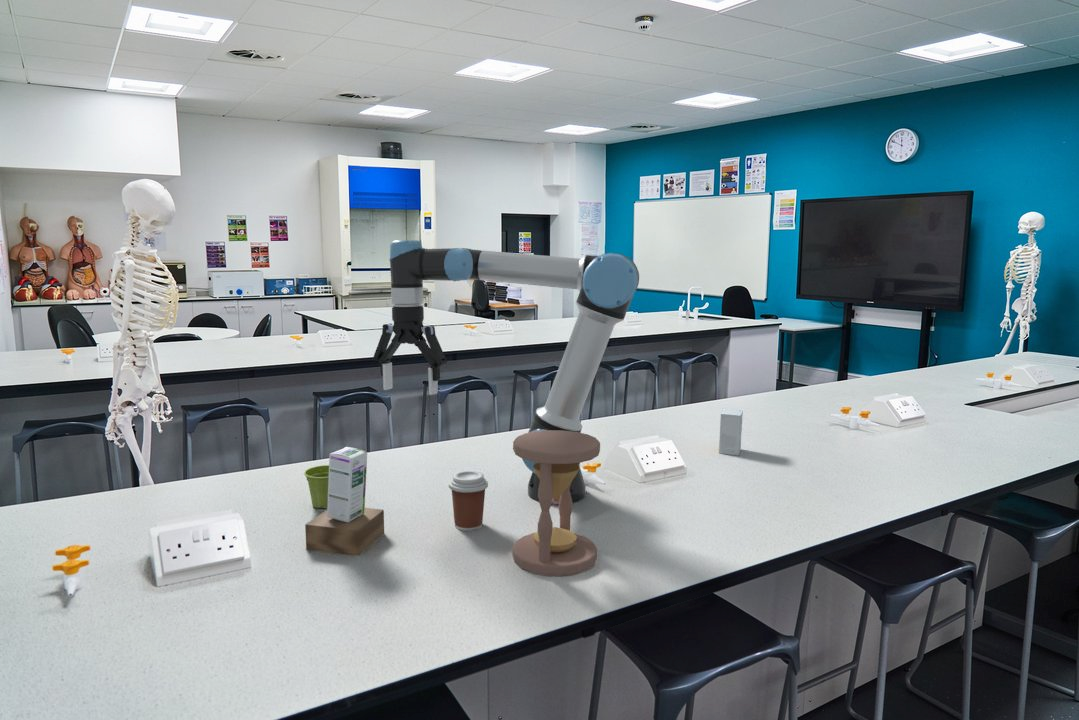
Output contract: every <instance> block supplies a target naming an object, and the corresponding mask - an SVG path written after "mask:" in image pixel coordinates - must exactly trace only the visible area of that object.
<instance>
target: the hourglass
mask: <svg viewBox="0 0 1079 720" xmlns="http://www.w3.org/2000/svg"><path fill="white" fill-rule="evenodd" d="M512 450H513V452H514V454H515V456H517V457H519V458H521V459H525V460H529V461H532V462H537V463H535V464H534V465H533V467H534V470H535V472H536V474H537V476H538V477H539V479H540V483H539V488H538V499H539V501H538V503H539V506H540V510H541V511H540V515H539V517H538V522H537V531H536V532H532V533H529V534H526V535H524V536H521V538H519V539H517V540H516V541H515V543H514V544H513V547H512V552H511V553H512V558H513V560H514V564H516V565H517V566H519V568H521V570H524V571H527V572H529V573H531V574H535V575H540V576H541V575H542V576H546V577H568V576H573V575H578V574H581V573H583V572H586V571H588V570H590V569H591V568H592V567H593V566H594V565H595V564H596V563H597V558H598V548H597V546H596V544H595V543H594V542H593V540H591V539H589V538H588V537H586V536H584V535H580V534H577V533H575V532H574V531H572V530H571V520H572V519H571V516H572V511H573V502H572V498H571V494H570V490H569V489H570V485H571V482H572V480H573V479H574V477H575V476H576V474H577V472H578V469H579V467H580V466H579V465H578V464H577V463H584V462H589V461H591V460H593V459H596V458H597V457H598V456H599V454H600V452H601V442H600V441H599V439H597V437H594V436H593V435H590V434H587V433H583V432H580V433H579V432H573V431H563V430H546V431H535V432H530V433H528V432H527V433H526V432H525V433H523V434H520V435H518V436H516V437H515V438H514V440H513V441H512ZM580 468H581V467H580ZM559 497H560V499H559ZM552 504H553V505H558V514H559V527H558V526H554V527H553V520H552V516H551V513H550V510H551V506H552Z"/></svg>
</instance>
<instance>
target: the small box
mask: <svg viewBox="0 0 1079 720" xmlns="http://www.w3.org/2000/svg"><path fill="white" fill-rule="evenodd" d="M743 414H744V413H743V409H733V408H722V411H721V412H720V421H719V422H720V423H719V440H718V441H719V443H718V454H719V455H730V456H740V452H741V449H742V448H741V446H742V432H743V431H742V430H743Z"/></svg>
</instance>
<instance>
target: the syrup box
mask: <svg viewBox="0 0 1079 720" xmlns="http://www.w3.org/2000/svg"><path fill="white" fill-rule="evenodd" d="M328 455H329V459H328V462H329V463H328V465H329V479H328V505H327V506H328V507H327V508H326V510H327V516H328V517H330V518H333V519H336V520H340V521H344V522H347V523H349V522H350V521H352V520H354V519H355V518H357V517H359V516H361V515H363V514H364V510H365V508H366V507H365V505H366V486H367V466H368V465H367V464H368V451H366V450H363V449H359V448H356V447H349V446H344V447H343V448H341V449H338V450H335V451H334V452H331V453H329V454H328Z"/></svg>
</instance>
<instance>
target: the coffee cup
mask: <svg viewBox="0 0 1079 720" xmlns="http://www.w3.org/2000/svg"><path fill="white" fill-rule="evenodd" d="M488 487H489V481H488V480H487V479H486V478H485V477H484V474H483V473H482V472H480V471H477V470H463V471H458V472H456V473H455V474H453V475H452V479H450V480H449V482H448V488H449V489H450V490H451V496H452V500H451V501H452V509H453V518H454V527H455V529H457V530H458V531H465V532H471V531H477V530H480V529H481V528H482V527H483V522H484V521H483V518H484V511H485V510H484V506H485V498H486V497H485V496H486V495H485V494H486V489H487V488H488Z"/></svg>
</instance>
